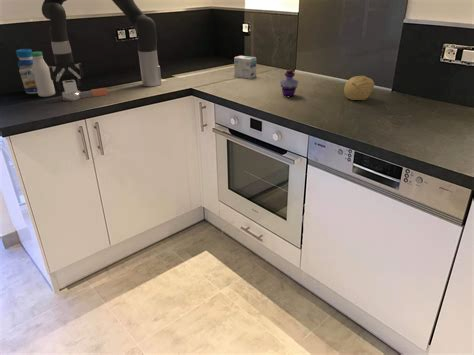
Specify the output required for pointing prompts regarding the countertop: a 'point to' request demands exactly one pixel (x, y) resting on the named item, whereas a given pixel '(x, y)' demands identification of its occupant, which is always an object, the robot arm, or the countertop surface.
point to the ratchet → (84, 94)
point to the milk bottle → (42, 75)
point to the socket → (70, 86)
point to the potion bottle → (289, 84)
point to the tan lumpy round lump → (358, 88)
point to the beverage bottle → (26, 70)
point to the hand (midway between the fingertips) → (70, 87)
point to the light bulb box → (245, 67)
